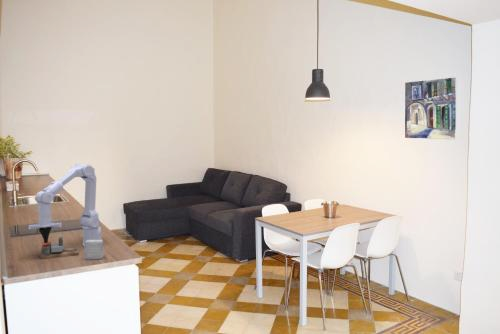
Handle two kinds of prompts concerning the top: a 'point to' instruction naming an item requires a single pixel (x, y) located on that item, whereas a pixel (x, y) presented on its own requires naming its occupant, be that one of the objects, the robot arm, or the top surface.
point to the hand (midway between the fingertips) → (46, 242)
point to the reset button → (46, 243)
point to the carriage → (57, 246)
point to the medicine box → (93, 249)
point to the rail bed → (66, 252)
